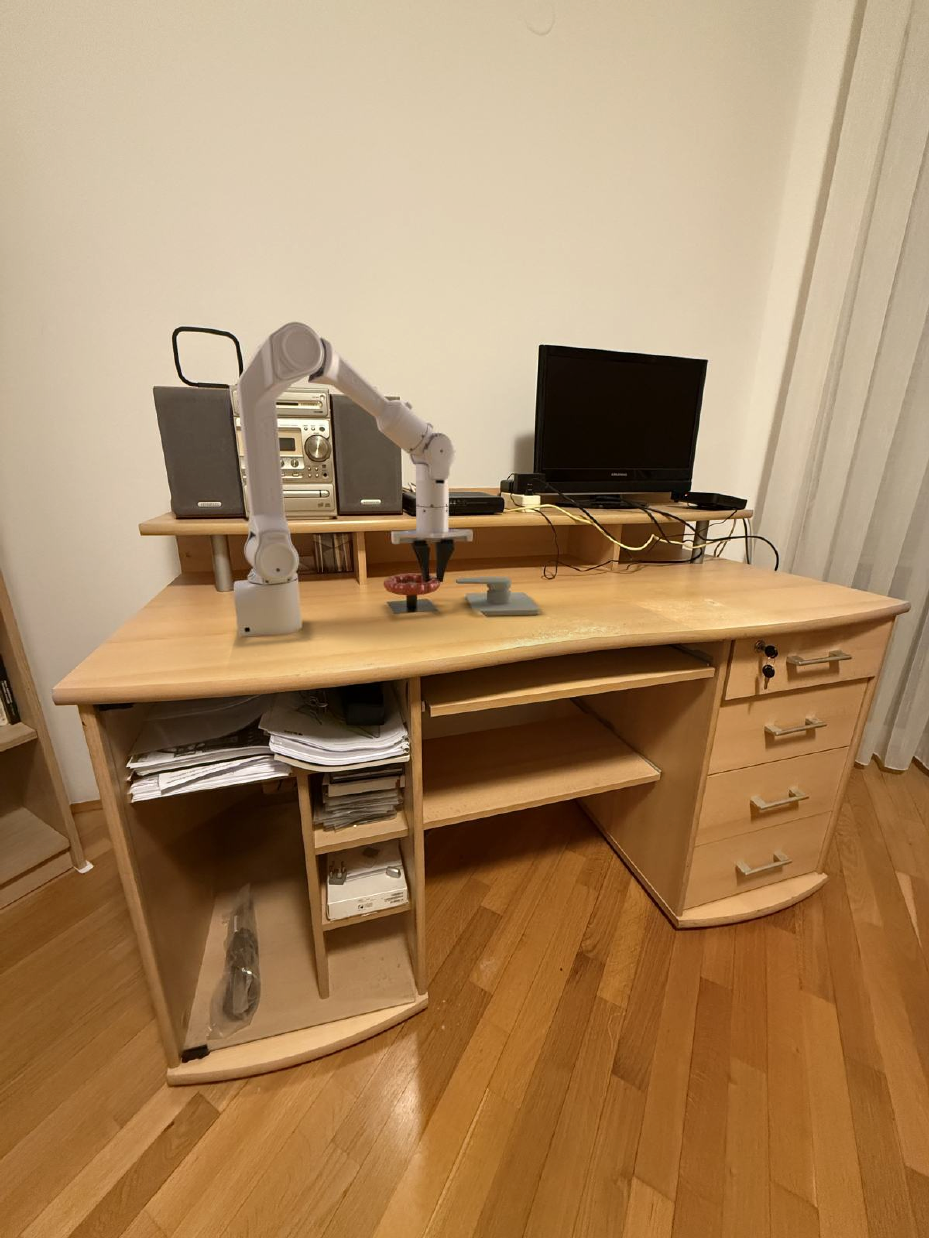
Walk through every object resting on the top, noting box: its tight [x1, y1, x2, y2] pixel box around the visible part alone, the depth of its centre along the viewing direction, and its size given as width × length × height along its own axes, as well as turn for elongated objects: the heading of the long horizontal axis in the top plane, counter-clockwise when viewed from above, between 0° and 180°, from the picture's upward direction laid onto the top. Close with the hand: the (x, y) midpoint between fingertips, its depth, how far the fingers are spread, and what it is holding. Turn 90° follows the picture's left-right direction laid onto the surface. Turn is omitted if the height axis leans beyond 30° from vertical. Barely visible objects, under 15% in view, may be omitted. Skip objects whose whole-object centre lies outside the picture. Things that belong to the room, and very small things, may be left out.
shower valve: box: [455, 576, 540, 617], centre depth 94 cm, size 12×6×15 cm
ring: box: [383, 572, 441, 596], centre depth 89 cm, size 10×10×2 cm
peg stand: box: [386, 582, 439, 615], centre depth 90 cm, size 8×8×5 cm
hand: (432, 581), depth 90 cm, fingers closed on ring, 2 cm apart
